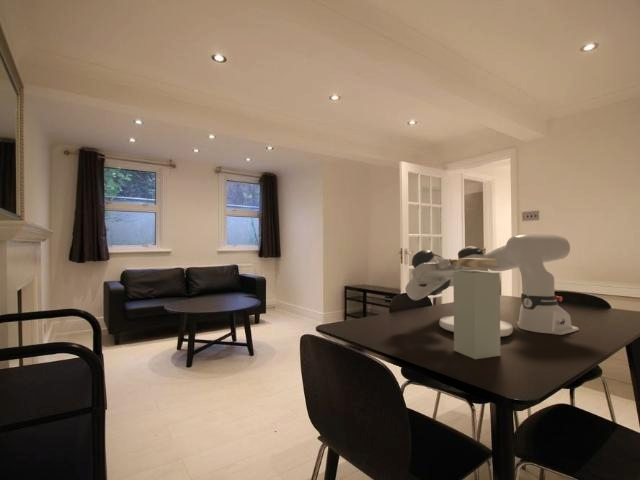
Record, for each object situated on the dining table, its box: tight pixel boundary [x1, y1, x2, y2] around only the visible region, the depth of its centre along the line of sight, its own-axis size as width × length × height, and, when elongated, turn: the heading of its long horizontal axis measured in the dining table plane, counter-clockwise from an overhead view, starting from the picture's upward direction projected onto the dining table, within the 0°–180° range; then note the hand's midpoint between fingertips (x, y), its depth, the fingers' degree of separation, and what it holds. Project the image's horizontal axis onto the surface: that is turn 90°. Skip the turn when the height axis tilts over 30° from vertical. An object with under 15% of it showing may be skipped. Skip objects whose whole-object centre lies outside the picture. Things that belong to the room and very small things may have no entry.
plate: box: [438, 315, 514, 338], centre depth 131 cm, size 28×6×27 cm
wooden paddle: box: [444, 258, 497, 268], centre depth 110 cm, size 18×7×2 cm, turn 19°
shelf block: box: [453, 270, 502, 360], centre depth 106 cm, size 10×9×26 cm
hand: (454, 260), depth 115 cm, fingers closed on wooden paddle, 2 cm apart
